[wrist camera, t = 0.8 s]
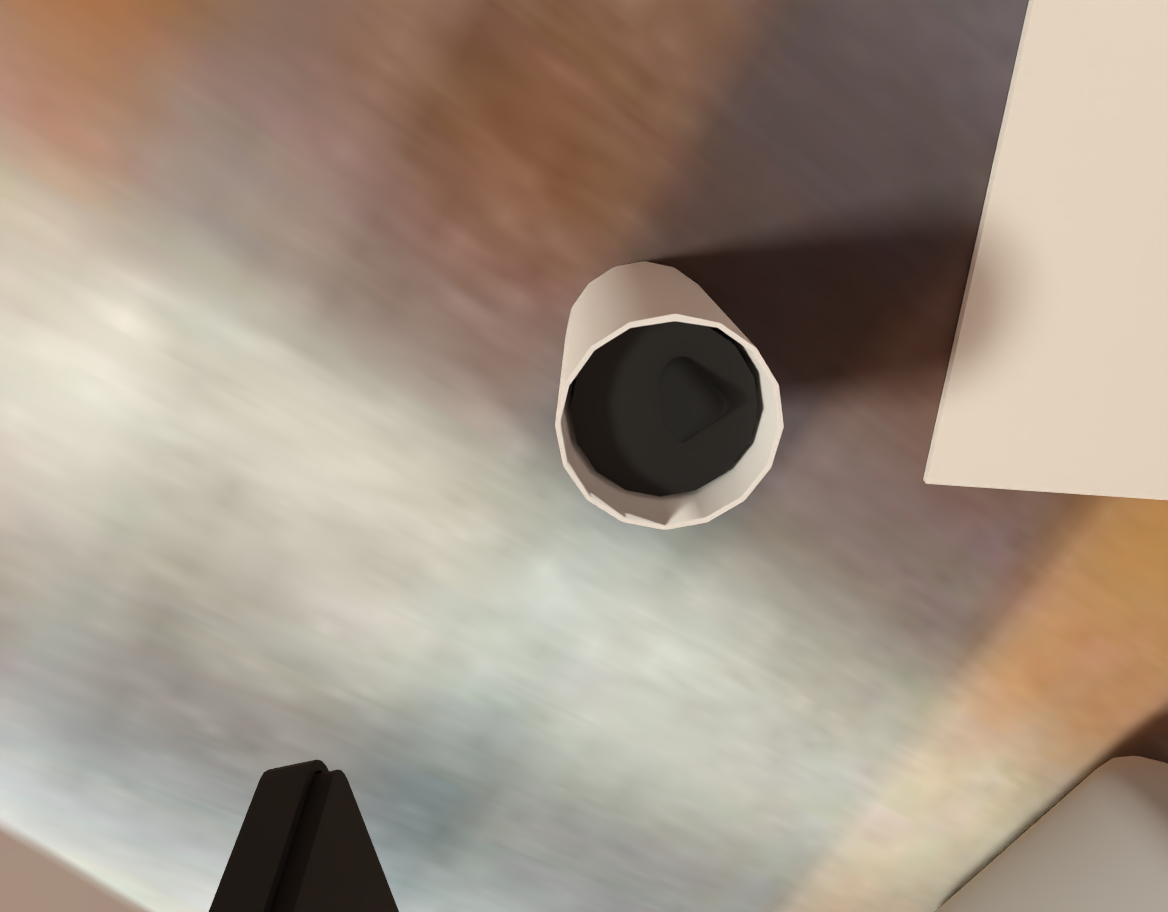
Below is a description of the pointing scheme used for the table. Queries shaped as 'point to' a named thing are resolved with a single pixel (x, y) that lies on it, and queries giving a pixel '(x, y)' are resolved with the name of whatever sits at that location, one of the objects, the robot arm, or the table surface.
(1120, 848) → the jar
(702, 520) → the white cup
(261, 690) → the table surface
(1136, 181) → the mat
